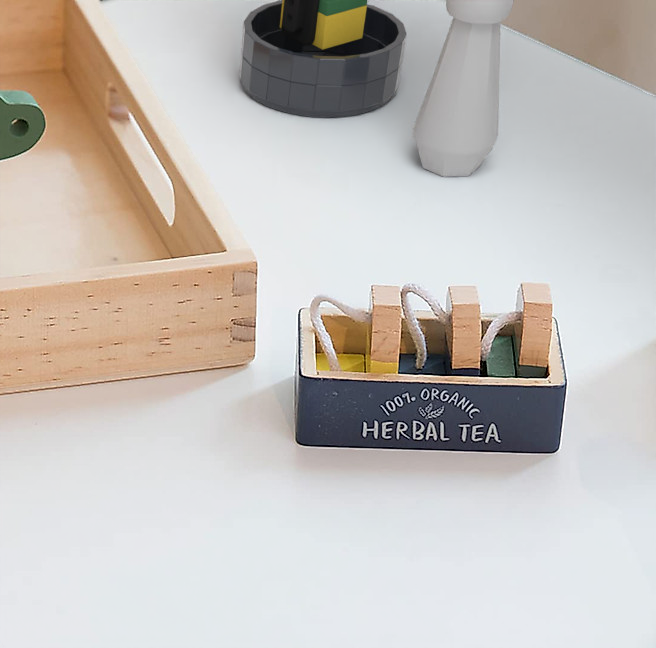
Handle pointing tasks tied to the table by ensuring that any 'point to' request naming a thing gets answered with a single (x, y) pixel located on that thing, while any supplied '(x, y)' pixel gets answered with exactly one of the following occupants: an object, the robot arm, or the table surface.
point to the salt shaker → (463, 91)
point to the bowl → (321, 66)
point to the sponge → (338, 22)
